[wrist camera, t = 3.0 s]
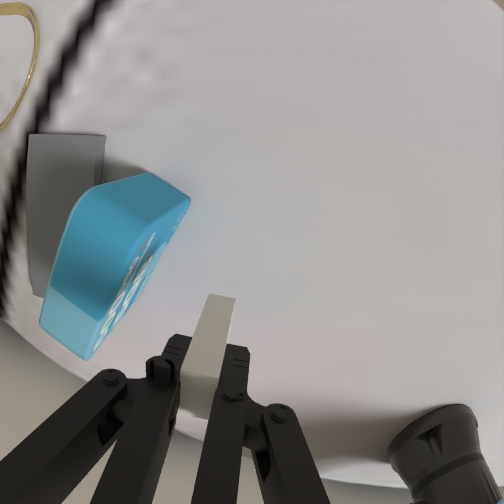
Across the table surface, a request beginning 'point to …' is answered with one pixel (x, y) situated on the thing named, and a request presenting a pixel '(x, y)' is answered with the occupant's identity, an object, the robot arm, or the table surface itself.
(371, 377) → the table surface
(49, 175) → the rubber pad
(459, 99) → the table surface
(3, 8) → the tan oval ring
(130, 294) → the data package
